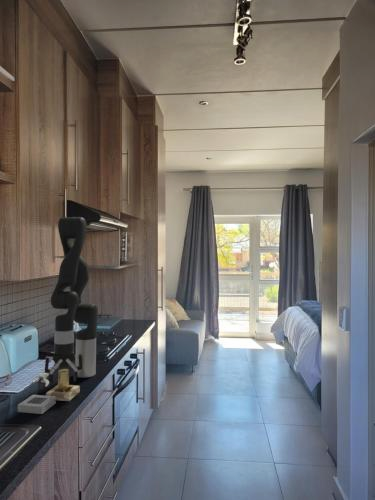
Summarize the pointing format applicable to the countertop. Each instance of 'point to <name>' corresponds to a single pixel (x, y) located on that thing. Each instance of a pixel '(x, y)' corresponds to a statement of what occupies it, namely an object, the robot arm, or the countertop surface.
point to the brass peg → (63, 380)
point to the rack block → (64, 393)
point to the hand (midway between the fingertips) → (63, 381)
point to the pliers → (43, 379)
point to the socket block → (37, 404)
